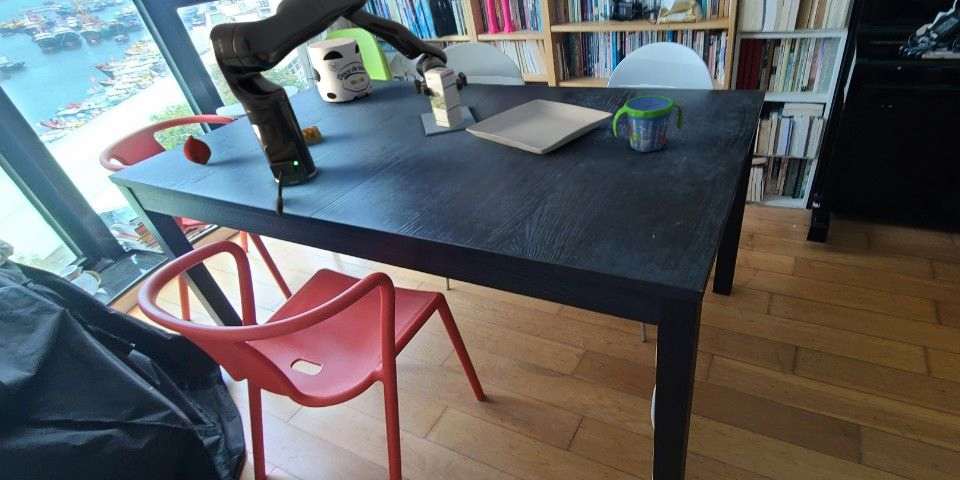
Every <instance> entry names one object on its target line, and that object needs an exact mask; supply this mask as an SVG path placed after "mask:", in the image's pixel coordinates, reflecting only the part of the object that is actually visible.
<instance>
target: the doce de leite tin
mask: <svg viewBox="0 0 960 480" xmlns="http://www.w3.org/2000/svg"><path fill="white" fill-rule="evenodd" d="M360 49H361V48H360V46H359V43H358V41H357V39H356V38H354V37H338V38H331V39H329V38H328V39H326V40H321V41H316V42H313V43H310V44H309V45H308V46H307V50H308V54H309V57H310V60H311V63H312V66H313V68H314V71H315V74H316V82H317V83H316V84H317V88H318V92H319V94H320V96H321V98H322V99H323V100H324V101H325V102H326V103H330V104H336V105H339V104H340V105H341V104H350V103H354V102H358V101H362V100H363V99H366V98H367V97H370V95H371V94H372V92H373V90H374V89H373V88H374V87H373V81H372V78H371V75H370V74H369V73H368V71H367V69H366V66H365V64H364V63H365V62H364V60H363V57H362V56H363V55H362V52H361V50H360Z"/></svg>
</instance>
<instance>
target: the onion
mask: <svg viewBox="0 0 960 480" xmlns="http://www.w3.org/2000/svg"><path fill="white" fill-rule="evenodd" d="M182 146H183V147H182V149H183V156H184V157H185V158H186V159H187V160H188V161H189V162H191V163H194V164H196V165H197V164H198V165H200V166H201V165H202V166H205V165H207V164H208V162H209V160H210V159H211V156H212V151H211V148H210V146H209V145H208V144H207V143H206V142H205V141H203V140H201V139H198V138H196V137H194V136H193V134H189V135H188V136H187V139H186V140H185V142H184V144H183V145H182Z"/></svg>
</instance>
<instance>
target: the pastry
mask: <svg viewBox="0 0 960 480" xmlns="http://www.w3.org/2000/svg"><path fill="white" fill-rule="evenodd" d="M301 131H302V133H303V136H304V138H305V141H306V144H307V146H312V145H314V144H319V143H321V142H323V141H324V137H323V134H322V133H321V131H320V130H319V128H318V126H317V125H312V126H311V127H306V128H305V127H304V128H301Z"/></svg>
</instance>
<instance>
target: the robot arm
mask: <svg viewBox="0 0 960 480" xmlns="http://www.w3.org/2000/svg"><path fill="white" fill-rule="evenodd" d="M369 1H370V0H281V1H280V2H279V3H278V5H277V7H276V11H275V14H274V15H271V16H269V17H266V18H263V19H260V20H254V21H239V22H238V21H237V22H225V23H219V24H216V25H214V26H213V27H212V28H211V30H210V32H209V37H208V38H209V46H210V47H209V48H210V50H211V53H212V56H213V58H214V61H215V62H216V65H217V67H218V69H219V71H220V73H221V75H222V76H223V78H224V80H225V82H226V84H227V85H228V88H229V90H230V91H231V93H232V95H233V96H234V97H235V98H236V100H237V101H239V103H240V104H241V106H242V108H243V110H244V112H245V115H246V116H247V119H248V122H249V123H250V126H251V128H252V130H253V132H254V134H255V136H256V139H257V141H258V143H259V145H260V147H261V150H262V152H263V154H264V157H265V159H266V161H267V164H268V166H269V169H270V171H271V174H272V176H273V177H274V180H275V183H276V184H277V198H276V202H275V213H276V215H277V216H278V217H281V216H282V215H284V214H283V213H284V200H283V187H289V186H293V185H300V184H304V183H309V182H310V180H312V179H313V178H315V177H316V176H317V175H318V173H319V170H318V168H317V166H316V164H315V161H314V159H313V156H312V154H311V151H310V149H309V145H307V144H306V141H305V138H304V136H303V133H302V131H301V129H302V128H301V125H300V124H299V121H298V118H297V115H296V113H295V110H294V108H293V106H292V102H291V100H290V97H289V95H288V93H287V91H286V89H285V88H284V87H283V86H282V85H280V84H278V83H275V82H273V81H271V80H269V79H268V78H266V77H265V76H264V75H263V74H262V73H264V72H269V71H270V70H273V69H274V68H276V67H277V66H278V65H280V63H281V62H282V61H284V59H286V57H287V56H289V55H290V54H291V53H292V52H293V51H294V50H296V49H298V48H299V47H301V46H303V45H304V44H306V43H308V42H309V41H311V40H313V39H315V38H316V37H318V36H320V35H321V34H323V33H324V32H326V31H327V30H328V29H329V28H330V27H332V26H333V25H334V24H335V23H337V21H338V20H339V19H340V18H343V19H345V20H346V21H348V22H349V23H351V24H353V25H356V26H357V27H359V28H360V29H363V30H364V31H366V32H367V33H370V34H372V35H373V36H375V37H377V38H379V39H380V40H382V41H383V42H385V43H387V44H388V45H389V46H390V47H392V48H393V49H394V50H396V51H397V52H398V53H399V54H400V55H402V56H403V57H405V58H406V59H407V60H409V61H414V60H416V59H418V58H419V57H420V58H419V59H418V60H417V61H416V64H415V70H416V72H417V74H418V75H419V76H420V77H421V78H422V79H423V81H421V80H420V79H417V78H416V79H414V80H413V86H414V90H415V94H416V95H420V94H423V95H424V96H426V97H430V95H429V91H428V87H427V82H426V78H425V72H427V71H429V70H431V69H434V68H438V67H439V68H448V66H447V63H448V56H447V54H446V52H445V51H444V50H443V49H442V48H440V47H438V46H437V45H434V44H432V43H429V42H426V40H423V39H421V38H420V37H418V36H417V35H416V33H414V32H413V31H412V30H410V29H409V27H407V26H406V25H404V24H402V23H401V22H398V21H396V20H393V19H390V18H385V17H383V16H379V15H376V14H374V13H372V12H369V11H367V10H365V9H364V8H363V7H365V6H366V5H367V4H368V3H369ZM455 79H456V84H457V89H458V92H461V91H462V90H463V89H464V87H468V86H469V84H468V78H467V75H466V74H465V73H464V72H462V71H459V72H458V73H457V75H455Z"/></svg>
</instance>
